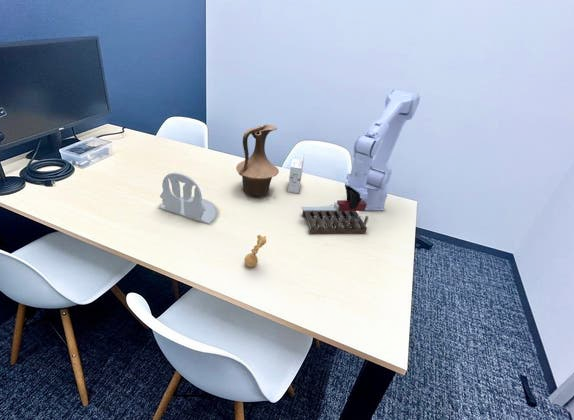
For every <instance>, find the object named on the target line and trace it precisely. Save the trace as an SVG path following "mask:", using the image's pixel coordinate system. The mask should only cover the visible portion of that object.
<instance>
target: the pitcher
mask: <svg viewBox="0 0 574 420" xmlns="http://www.w3.org/2000/svg"><path fill="white" fill-rule="evenodd" d="M276 130H278V127H277V126H275V125H271V124H264V125H258V126H254V127H251V128H249V129H246V131H245V132H244V133H243V135H242V136H243V137H242V147H243V152H244V153H243V154H244V160H242V161H241V162H239V163H237V165H236V167H235V169H236V171H237V173H238V175H239V176H241V181H242V192H243V193H244V195H246V196H248V197H252V198H263V197H265V196H267V195H268V194H269V190H270V185H271V182H272V179H273V177H276V176H277V175H278V174H279V172H280V170H279V168H278V167H277V166H276V165H275V164H273V163H272V162H271V161H270V160H269V159H268V157H267V154H266V149H265V146H266V139H267V137H268V135H269V134H270V133H271V132H274V131H276ZM251 135H252V137H253V138H254V140H255V144H254V150H253V152H252V153H251V155H250V156H249V146H248V139H249V136H251Z"/></svg>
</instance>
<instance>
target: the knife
mask: <svg viewBox="0 0 574 420" xmlns="http://www.w3.org/2000/svg"><path fill="white" fill-rule="evenodd" d="M366 205H367V204H366V202H365V201H364V200H361V201H360V203H359V204H358V206H357V207H356V209H350V200H347V199H346V200H345V199H344V200H343V199H342V200H341V199H340V200H339V199H338V200H336V202H334V203H333V206H301V207H300V208H301V210H302V212H303V211H356V212H365V211H366V210H365V209H366Z"/></svg>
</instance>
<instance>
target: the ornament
mask: <svg viewBox="0 0 574 420" xmlns="http://www.w3.org/2000/svg"><path fill="white" fill-rule="evenodd" d="M180 183H182V184H184V185H183V186H182V195H181V185H180ZM161 186H162V187H161V188H162V192H161V193H160V194H159V198H160V199H162V200H161V202H162V204H161V205H159V207H158V209H160V210H163V211H166V212H170V213H172V214H176V215H179V216H182V217H185V218H187V219H191V220H194V221H197V222H200V223H203V224H207V225H211V224H212V223H213V222H214V220H215V219H216V218H217V209H216V207H215V206H214V205H213V204H212V203H211V202H209V201H208V200H206V199H203V195H202V192H201V188H200V187H199V185H198V184H197V183H196V181H195V180H194V179H193V178H192V177H190V176H188V175H185V174H183V173H180V172H179V173H178V172H171V173H168V174H166V176H164V177H163V180H162V185H161ZM170 186H171V188H170ZM193 187H194V190H193V191H194V192H193V191H192V189H193ZM192 192H193V193H194V194H192ZM192 195H193V197H192ZM181 196H182V197H181Z"/></svg>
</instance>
